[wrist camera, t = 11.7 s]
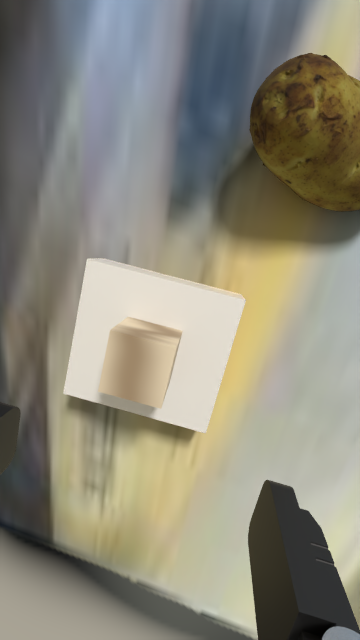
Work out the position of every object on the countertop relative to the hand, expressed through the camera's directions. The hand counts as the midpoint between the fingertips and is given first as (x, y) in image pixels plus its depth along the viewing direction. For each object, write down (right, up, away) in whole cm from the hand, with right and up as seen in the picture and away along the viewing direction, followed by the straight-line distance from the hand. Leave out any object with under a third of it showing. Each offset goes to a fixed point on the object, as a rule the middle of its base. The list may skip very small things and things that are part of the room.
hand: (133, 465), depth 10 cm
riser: (-1, +3, +22) cm, 22 cm away
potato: (+13, +18, +18) cm, 28 cm away
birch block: (-1, +2, +18) cm, 18 cm away
